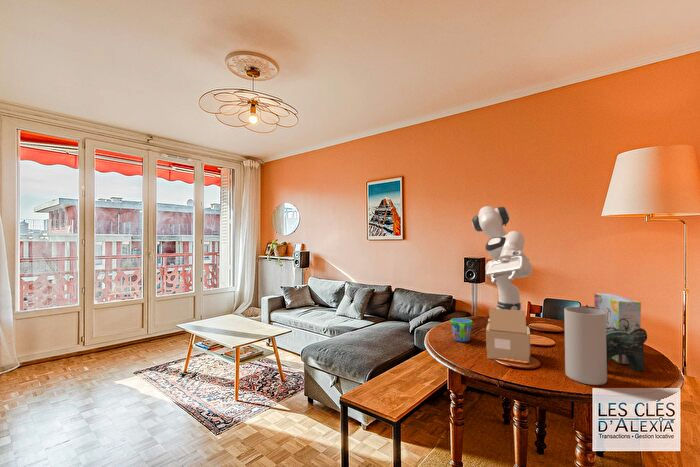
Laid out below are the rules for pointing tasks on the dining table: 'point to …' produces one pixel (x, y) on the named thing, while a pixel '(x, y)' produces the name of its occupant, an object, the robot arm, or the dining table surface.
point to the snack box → (618, 314)
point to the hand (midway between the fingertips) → (501, 281)
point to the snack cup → (461, 329)
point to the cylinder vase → (585, 345)
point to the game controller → (627, 345)
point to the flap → (507, 320)
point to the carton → (508, 344)
